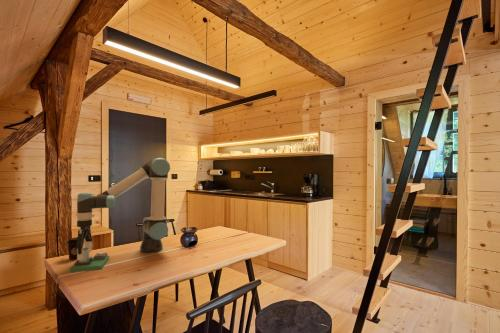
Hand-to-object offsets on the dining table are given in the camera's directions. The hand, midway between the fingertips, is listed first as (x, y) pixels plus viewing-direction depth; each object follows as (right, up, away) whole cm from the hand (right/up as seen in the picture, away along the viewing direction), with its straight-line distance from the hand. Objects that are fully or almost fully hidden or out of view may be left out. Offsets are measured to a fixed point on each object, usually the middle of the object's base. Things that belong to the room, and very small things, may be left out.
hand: (84, 256), depth 156 cm
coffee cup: (-14, -7, +14) cm, 21 cm away
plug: (0, -4, 0) cm, 4 cm away
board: (+2, -6, +3) cm, 7 cm away
